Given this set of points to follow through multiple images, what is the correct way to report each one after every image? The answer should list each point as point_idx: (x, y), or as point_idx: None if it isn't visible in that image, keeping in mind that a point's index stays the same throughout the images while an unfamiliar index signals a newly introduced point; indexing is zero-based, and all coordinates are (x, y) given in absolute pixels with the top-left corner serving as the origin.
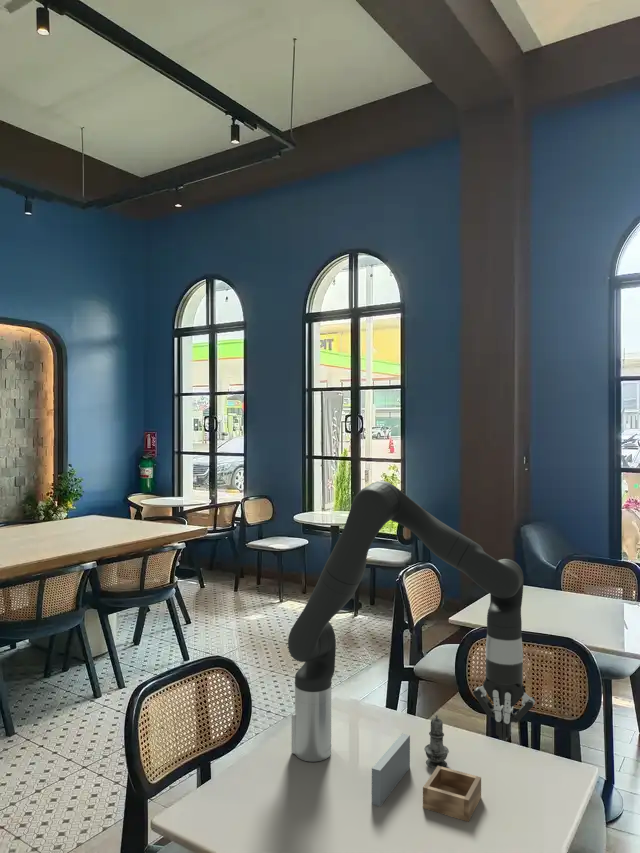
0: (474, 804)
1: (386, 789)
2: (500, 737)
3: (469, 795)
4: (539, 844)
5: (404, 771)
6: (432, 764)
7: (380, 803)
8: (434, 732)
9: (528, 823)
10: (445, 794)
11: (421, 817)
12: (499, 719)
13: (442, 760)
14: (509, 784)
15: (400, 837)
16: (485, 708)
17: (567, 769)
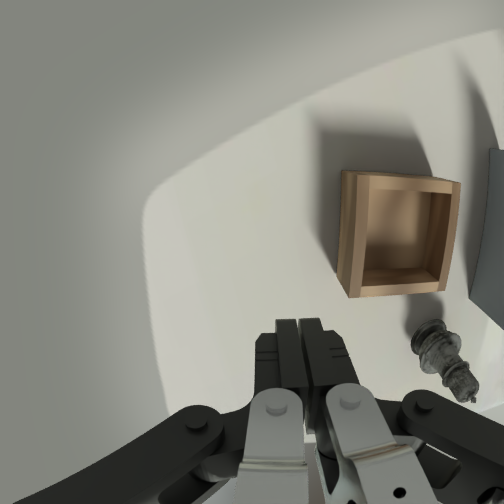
0: (343, 224)
1: (500, 182)
2: (309, 321)
3: (360, 198)
4: (180, 174)
5: (479, 274)
6: (437, 329)
7: (493, 150)
8: (465, 370)
9: (219, 236)
10: (413, 178)
11: (428, 146)
12: (339, 399)
13: (426, 339)
14: None
15: (435, 70)
16: (467, 424)
17: None
